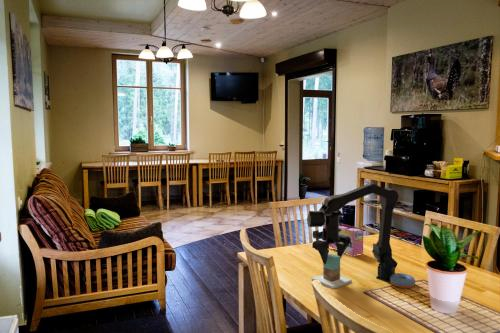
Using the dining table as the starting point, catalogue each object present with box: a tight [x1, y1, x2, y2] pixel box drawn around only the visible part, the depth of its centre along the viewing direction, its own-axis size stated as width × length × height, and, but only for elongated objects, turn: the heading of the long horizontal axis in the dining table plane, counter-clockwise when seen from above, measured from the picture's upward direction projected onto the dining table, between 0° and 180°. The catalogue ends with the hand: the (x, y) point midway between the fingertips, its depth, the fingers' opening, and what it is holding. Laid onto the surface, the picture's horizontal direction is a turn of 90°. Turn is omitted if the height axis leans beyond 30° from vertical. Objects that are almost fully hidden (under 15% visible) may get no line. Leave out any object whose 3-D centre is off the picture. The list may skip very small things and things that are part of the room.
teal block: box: [322, 253, 341, 270], centre depth 172 cm, size 5×5×5 cm
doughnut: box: [390, 272, 416, 289], centre depth 168 cm, size 10×10×5 cm
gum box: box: [323, 222, 364, 257], centre depth 218 cm, size 24×8×14 cm, turn 33°
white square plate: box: [311, 274, 353, 290], centre depth 172 cm, size 12×12×1 cm
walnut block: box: [322, 266, 341, 282], centre depth 172 cm, size 5×5×5 cm
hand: (331, 261), depth 172 cm, fingers open, 9 cm apart
